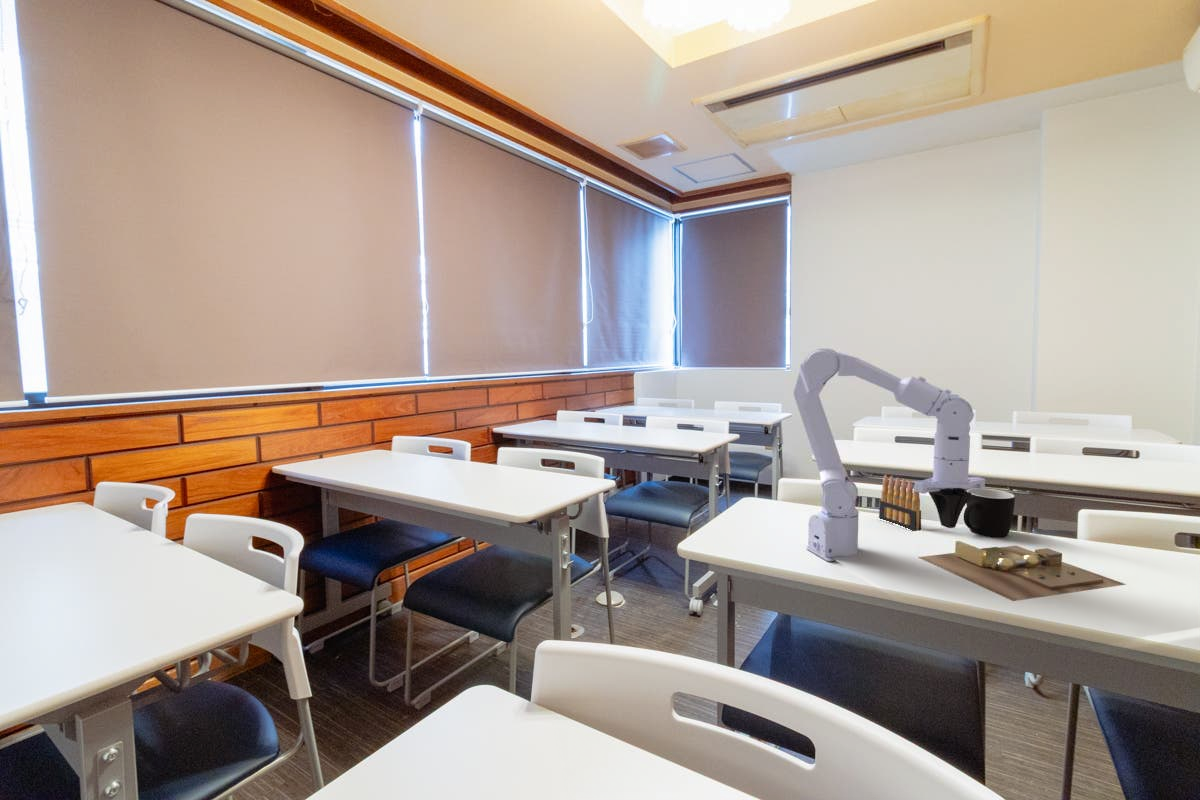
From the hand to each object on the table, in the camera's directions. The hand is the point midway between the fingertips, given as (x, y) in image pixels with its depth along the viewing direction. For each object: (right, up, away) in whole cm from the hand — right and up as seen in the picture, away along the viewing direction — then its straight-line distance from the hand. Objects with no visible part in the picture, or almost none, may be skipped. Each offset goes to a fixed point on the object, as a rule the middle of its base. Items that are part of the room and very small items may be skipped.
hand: (947, 526), depth 104 cm
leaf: (+13, -7, +2) cm, 15 cm away
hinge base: (+16, -8, -5) cm, 18 cm away
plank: (+12, -9, -2) cm, 15 cm away
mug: (+20, -7, +18) cm, 28 cm away
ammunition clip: (+6, -7, +28) cm, 29 cm away
